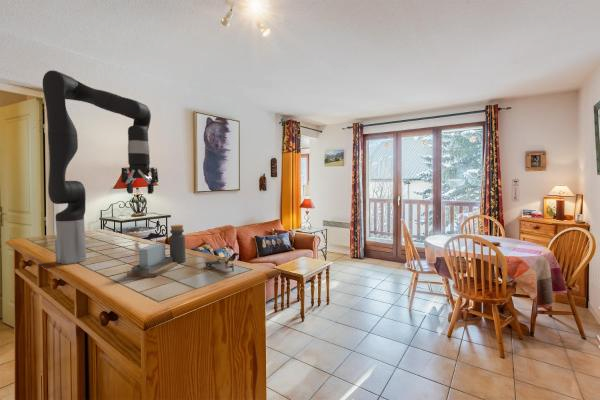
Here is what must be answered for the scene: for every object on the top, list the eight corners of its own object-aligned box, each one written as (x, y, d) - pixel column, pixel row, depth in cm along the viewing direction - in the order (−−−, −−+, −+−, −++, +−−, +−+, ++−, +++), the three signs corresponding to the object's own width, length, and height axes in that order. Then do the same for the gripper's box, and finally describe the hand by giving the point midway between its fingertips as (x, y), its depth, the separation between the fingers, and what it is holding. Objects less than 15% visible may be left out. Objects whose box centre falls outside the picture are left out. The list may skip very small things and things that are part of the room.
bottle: (188, 260, 125) (187, 224, 124) (181, 263, 119) (180, 226, 118) (174, 259, 126) (173, 224, 125) (167, 263, 120) (166, 226, 119)
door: (139, 271, 105) (138, 249, 105) (157, 262, 116) (157, 242, 116) (148, 271, 105) (147, 249, 104) (165, 263, 116) (165, 242, 115)
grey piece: (125, 276, 104) (125, 267, 104) (151, 264, 119) (151, 256, 119) (155, 277, 103) (155, 268, 102) (178, 265, 118) (177, 257, 117)
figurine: (208, 276, 114) (240, 270, 109) (201, 271, 112) (233, 265, 106) (212, 263, 119) (243, 257, 113) (206, 258, 116) (238, 251, 111)
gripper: (115, 152, 116) (117, 194, 117) (149, 151, 114) (151, 194, 115) (128, 154, 123) (130, 193, 125) (161, 153, 122) (162, 193, 123)
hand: (140, 193), depth 120 cm, fingers open, 8 cm apart
